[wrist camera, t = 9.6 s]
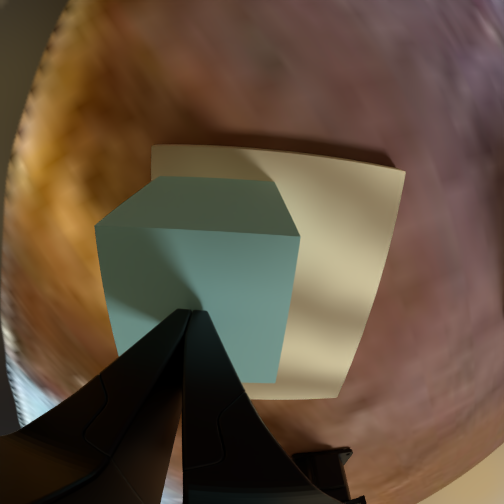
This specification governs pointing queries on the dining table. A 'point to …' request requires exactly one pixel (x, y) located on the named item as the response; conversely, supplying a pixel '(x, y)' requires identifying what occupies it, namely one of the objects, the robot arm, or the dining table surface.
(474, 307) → the dining table surface
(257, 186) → the teal rectangular block
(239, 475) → the robot arm
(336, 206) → the board
